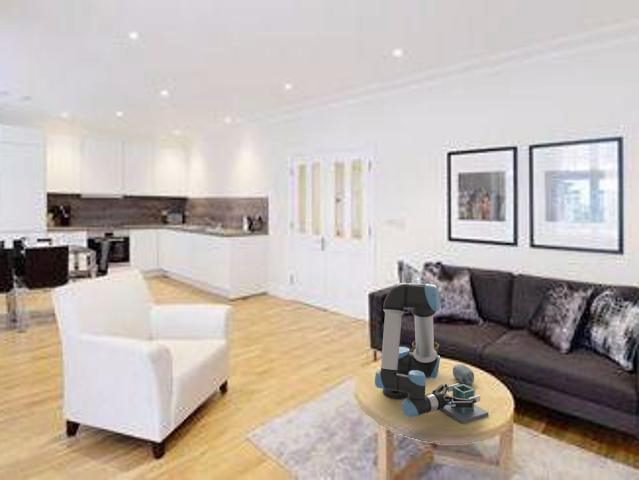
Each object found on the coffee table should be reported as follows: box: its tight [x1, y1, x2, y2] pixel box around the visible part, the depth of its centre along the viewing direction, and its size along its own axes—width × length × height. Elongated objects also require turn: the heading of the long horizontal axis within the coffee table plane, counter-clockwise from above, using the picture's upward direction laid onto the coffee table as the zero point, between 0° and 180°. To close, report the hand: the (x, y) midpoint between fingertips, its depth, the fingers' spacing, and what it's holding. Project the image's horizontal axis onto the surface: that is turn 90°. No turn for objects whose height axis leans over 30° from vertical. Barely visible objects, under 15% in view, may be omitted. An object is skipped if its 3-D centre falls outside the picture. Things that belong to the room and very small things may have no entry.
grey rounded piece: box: [452, 363, 475, 385], centre depth 241 cm, size 14×10×10 cm
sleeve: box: [451, 383, 476, 413], centre depth 207 cm, size 7×7×10 cm
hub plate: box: [440, 403, 489, 424], centre depth 208 cm, size 16×16×9 cm
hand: (468, 391), depth 209 cm, fingers open, 13 cm apart
